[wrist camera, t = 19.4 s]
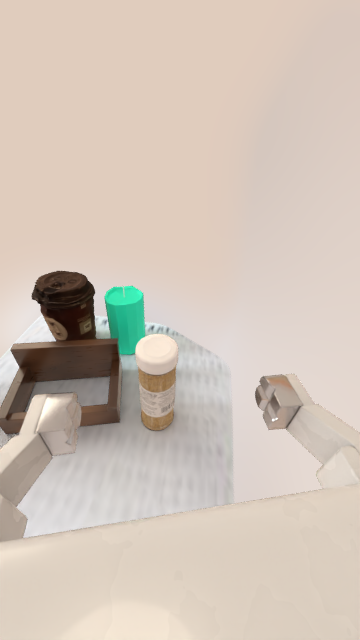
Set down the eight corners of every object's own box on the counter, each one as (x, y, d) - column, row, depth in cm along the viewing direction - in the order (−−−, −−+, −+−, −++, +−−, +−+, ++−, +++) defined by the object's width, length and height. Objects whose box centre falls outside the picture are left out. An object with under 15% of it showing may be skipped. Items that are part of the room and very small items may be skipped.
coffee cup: (60, 369, 39) (35, 302, 31) (45, 340, 44) (21, 275, 36) (110, 347, 44) (100, 284, 36) (92, 323, 49) (79, 262, 41)
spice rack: (5, 434, 31) (-19, 402, 26) (29, 376, 38) (13, 343, 34) (119, 422, 33) (113, 390, 29) (122, 369, 40) (117, 337, 36)
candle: (147, 352, 43) (145, 294, 36) (112, 357, 42) (103, 298, 35) (143, 330, 48) (140, 275, 41) (111, 334, 47) (102, 278, 39)
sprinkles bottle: (163, 396, 36) (165, 327, 28) (179, 421, 33) (187, 352, 25) (135, 410, 34) (128, 340, 26) (149, 438, 31) (146, 369, 23)
